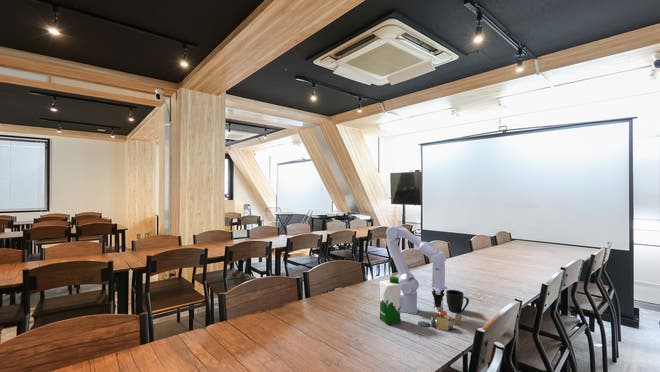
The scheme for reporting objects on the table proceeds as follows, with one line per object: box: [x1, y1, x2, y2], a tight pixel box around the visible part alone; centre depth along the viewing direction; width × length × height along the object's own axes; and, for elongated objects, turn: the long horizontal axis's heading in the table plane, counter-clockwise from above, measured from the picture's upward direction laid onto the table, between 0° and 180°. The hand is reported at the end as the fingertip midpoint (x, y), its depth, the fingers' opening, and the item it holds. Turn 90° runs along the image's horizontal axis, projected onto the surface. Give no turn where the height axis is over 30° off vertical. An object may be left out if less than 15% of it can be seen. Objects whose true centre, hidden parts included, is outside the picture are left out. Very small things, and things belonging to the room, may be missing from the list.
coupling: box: [433, 297, 444, 311], centre depth 143 cm, size 4×4×5 cm
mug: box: [445, 289, 470, 314], centre depth 151 cm, size 8×12×10 cm
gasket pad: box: [417, 320, 432, 328], centre depth 136 cm, size 6×6×1 cm
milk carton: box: [379, 276, 402, 326], centre depth 139 cm, size 9×9×20 cm
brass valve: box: [430, 309, 454, 331], centre depth 133 cm, size 9×5×7 cm, turn 68°
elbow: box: [450, 313, 463, 326], centre depth 137 cm, size 4×2×4 cm, turn 88°
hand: (438, 305), depth 143 cm, fingers closed on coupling, 4 cm apart
